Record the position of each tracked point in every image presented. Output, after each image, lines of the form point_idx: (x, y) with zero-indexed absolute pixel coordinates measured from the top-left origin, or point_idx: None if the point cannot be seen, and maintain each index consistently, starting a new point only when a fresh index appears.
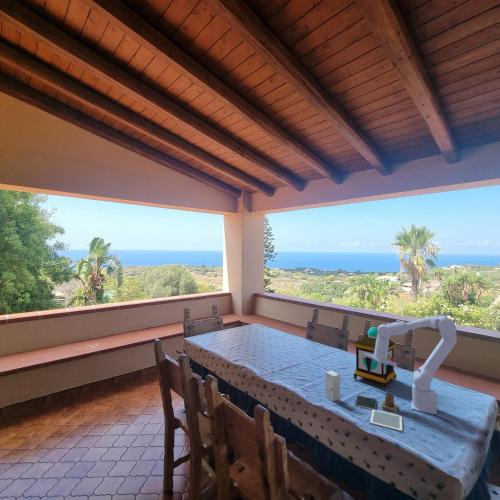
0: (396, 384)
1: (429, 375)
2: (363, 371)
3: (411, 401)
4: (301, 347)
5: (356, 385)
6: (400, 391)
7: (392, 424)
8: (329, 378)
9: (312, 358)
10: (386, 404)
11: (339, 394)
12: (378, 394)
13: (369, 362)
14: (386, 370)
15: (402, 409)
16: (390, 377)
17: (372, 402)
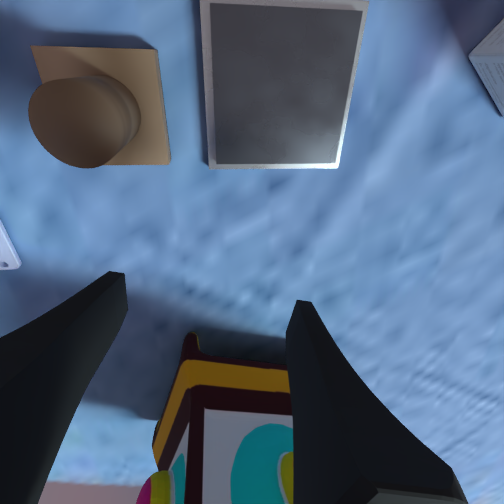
0: (148, 393)
1: None
2: None
3: (14, 261)
4: (499, 469)
5: (328, 306)
6: (114, 345)
7: None
8: None
9: (483, 427)
10: (122, 87)
11: (501, 53)
12: (211, 266)
13: (362, 460)
14: (8, 371)
15: (29, 132)
16: (166, 415)
17: (233, 93)
